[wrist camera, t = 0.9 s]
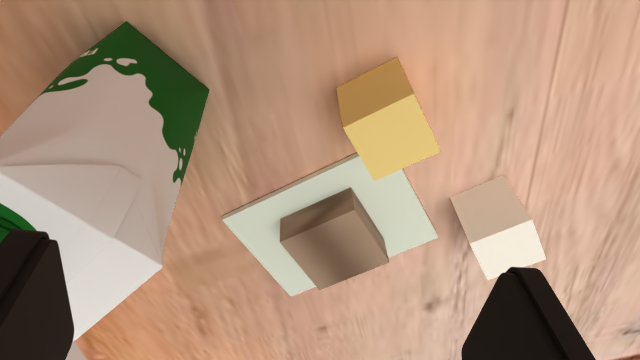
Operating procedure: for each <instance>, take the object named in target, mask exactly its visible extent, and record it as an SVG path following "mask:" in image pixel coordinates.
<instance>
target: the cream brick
mask: <svg viewBox="0 0 640 360" xmlns="http://www.w3.org/2000/svg"><path fill="white" fill-rule="evenodd" d="M450 199H451V201H452V204H453V206H454V208H455V211H456V213H457V215H458V218H459V220H460V222H461V225H462V227H463V229H464V232H465V234H466V236H467V239H468V241H469V243H470V245H471V248H472V250H473V252H474V254H475V256H476V258H477V260H478V262H479V264H480V266H481V268H482V270H483V272H484V274H485V276H486V278H487V280H490V279H493V278H496V277H498V276H500V274H502V273H506V271H507V270H508V269H509V268H510V267H526V266H528V265H531V264H534V263H537V262H539V261H542V260H545V259H546V257H545V254H544V251H543V249H542V246H541V243H540V240H539V238H538V235H537V232H536V229H535V226H534V224H533V221H532V219H531V217H530V215H529V214H528V212H527V211H526V209H525V207H524V206H523V204H522V202H521V201H520V199H519V198H518V196H517V194H516V193H515V191H514V189H513V188H512V186H511V185H510V183H509V181H508V180H507V178H506V176H505V175H501V176H499V177H497V178H494V179H492V180H490V181H487V182H485V183H482V184H480V185H478V186H475V187H473V188H471V189H468V190H466V191H463V192H461V193H459V194H456V195H454V196H452V197H450Z"/></svg>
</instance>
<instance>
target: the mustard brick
mask: <svg viewBox="0 0 640 360" xmlns="http://www.w3.org/2000/svg"><path fill="white" fill-rule="evenodd" d="M336 90H337V96H338V102H339V108H340V114H341V120H342V126H343V129H344V131H345V133H346V134H347V136H348V138H349V139H350V141H351V143H352V144H353V146H354V148H355V149H356V151H357V153H358V154H359V156H360V158H361V159H362V161H363V163H364V165H365V166H366V168H367V170H368V171H369V173H370V175H371V176H372V178H373V180H374V181H376V180H378V179H380V178H383V177H385V176H387V175H389V174H392V173H394V172H396V171H398V170H401V169H403V168H405V167H407V166H410V165H412V164H414V163H416V162H419V161H421V160H423V159H425V158H428V157H430V156H432V155H434V154H437V153H439V152H441V150H440V148H439V146H438V144H437V142H436V140H435V137H434V135H433V133H432V131H431V129H430V126H429V124H428V122H427V120H426V118H425V116H424V113H423V111H422V109H421V107H420V105H419V102H418V100H417V98H416V96H415V94H414V92H413V89H412V87H411V85H410V83H409V81H408V79H407V77H406V74H405V72H404V70H403V68H402V66H401V64H400V61H399V59H398V57H395V58H393V59H392V60H390V61H388V62H386V63H384V64H382V65H380V66H378V67H376V68H374V69H372V70H370V71H368V72H366V73H364V74H362V75H360V76H358V77H356V78H354V79H352V80H350V81H349V82H347V83H345V84H343V85H341V86H339V87H337V88H336Z"/></svg>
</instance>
